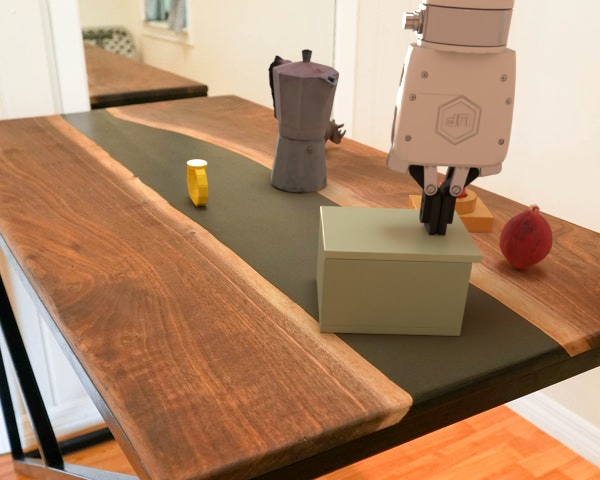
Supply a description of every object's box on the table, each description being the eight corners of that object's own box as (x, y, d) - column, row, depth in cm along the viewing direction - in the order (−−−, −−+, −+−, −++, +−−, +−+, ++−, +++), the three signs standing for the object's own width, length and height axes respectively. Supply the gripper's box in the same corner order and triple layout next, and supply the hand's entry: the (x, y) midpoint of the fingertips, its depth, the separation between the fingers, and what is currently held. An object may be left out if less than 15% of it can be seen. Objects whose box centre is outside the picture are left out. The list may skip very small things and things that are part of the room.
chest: (437, 282, 74) (446, 217, 70) (460, 336, 64) (472, 263, 60) (316, 278, 74) (319, 213, 70) (319, 332, 63) (324, 259, 60)
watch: (182, 197, 95) (180, 156, 93) (201, 195, 96) (200, 155, 94) (194, 211, 91) (192, 169, 88) (213, 208, 92) (212, 167, 89)
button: (461, 191, 91) (463, 179, 90) (467, 200, 88) (469, 188, 87) (435, 191, 91) (437, 178, 90) (441, 200, 88) (442, 187, 87)
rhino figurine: (353, 149, 121) (355, 116, 118) (295, 161, 113) (296, 126, 110) (338, 144, 124) (340, 112, 121) (280, 155, 116) (281, 121, 113)
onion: (534, 285, 74) (550, 218, 70) (486, 270, 77) (498, 205, 73) (551, 268, 78) (567, 204, 74) (505, 255, 81) (518, 193, 77)
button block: (476, 211, 95) (481, 184, 93) (491, 232, 88) (496, 204, 86) (407, 209, 94) (410, 182, 92) (416, 230, 87) (420, 202, 85)
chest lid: (454, 217, 70) (455, 210, 70) (481, 263, 60) (483, 255, 60) (319, 212, 70) (320, 205, 69) (324, 258, 60) (324, 250, 59)
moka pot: (307, 203, 95) (313, 57, 85) (241, 176, 105) (240, 43, 95) (352, 190, 101) (363, 52, 91) (286, 166, 111) (289, 39, 101)
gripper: (381, 31, 52) (361, 242, 61) (566, 38, 53) (520, 248, 61) (371, 21, 59) (355, 213, 68) (536, 28, 59) (498, 218, 68)
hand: (434, 229), depth 65 cm, fingers closed
